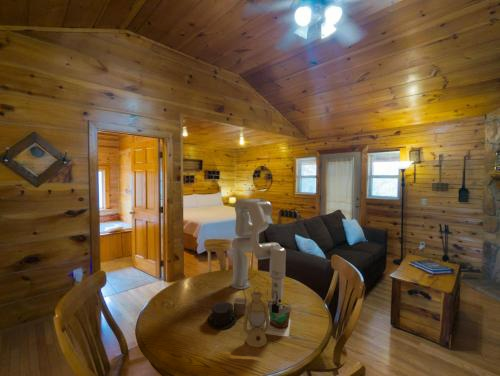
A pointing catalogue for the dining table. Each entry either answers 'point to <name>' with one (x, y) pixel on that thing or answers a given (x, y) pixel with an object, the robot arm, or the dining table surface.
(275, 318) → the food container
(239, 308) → the walnut block
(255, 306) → the lantern
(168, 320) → the dining table surface
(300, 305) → the dining table surface
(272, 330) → the letter
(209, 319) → the top hat
